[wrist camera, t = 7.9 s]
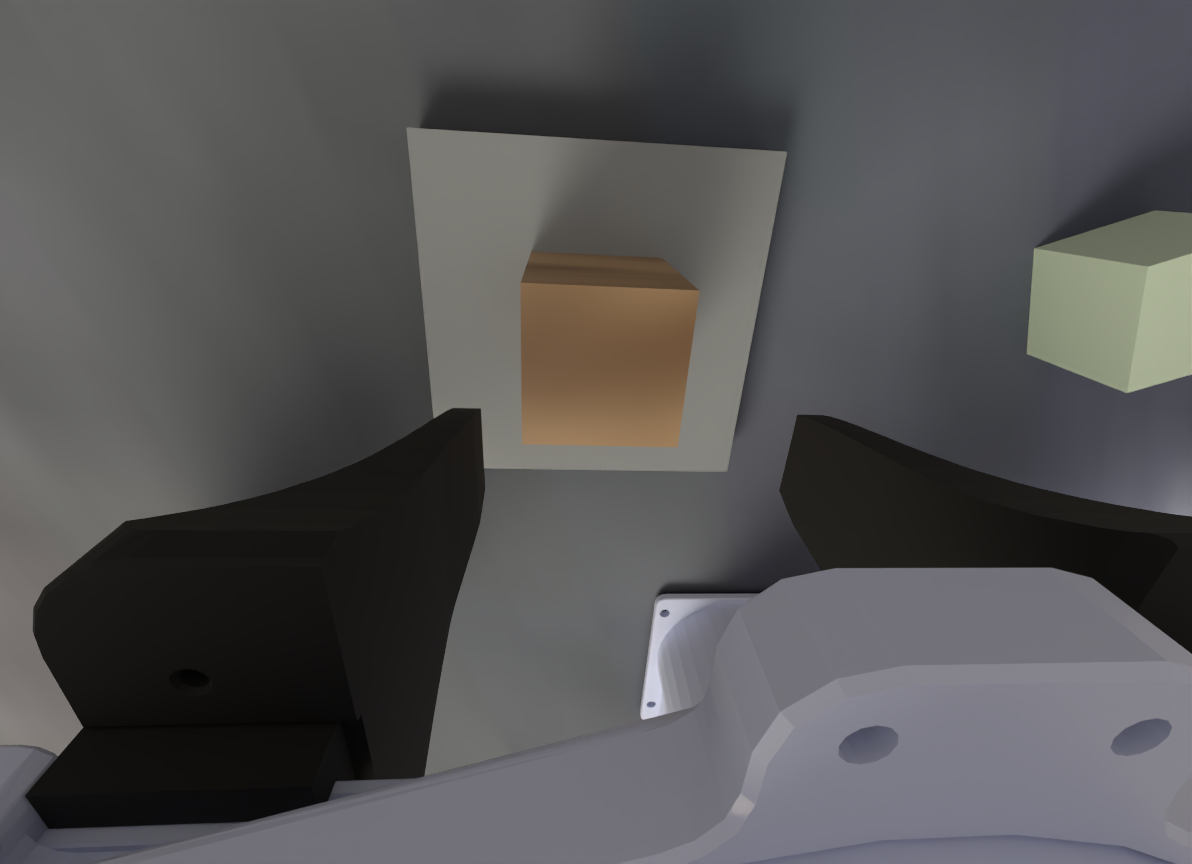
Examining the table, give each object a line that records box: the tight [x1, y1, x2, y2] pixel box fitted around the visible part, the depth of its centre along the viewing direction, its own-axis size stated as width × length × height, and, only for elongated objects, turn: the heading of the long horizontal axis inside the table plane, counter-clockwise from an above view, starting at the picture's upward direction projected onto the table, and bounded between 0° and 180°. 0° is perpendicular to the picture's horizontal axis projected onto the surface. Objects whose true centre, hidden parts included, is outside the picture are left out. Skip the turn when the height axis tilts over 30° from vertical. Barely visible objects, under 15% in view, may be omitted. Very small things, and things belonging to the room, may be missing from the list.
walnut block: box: [520, 252, 700, 447], centre depth 17 cm, size 4×4×6 cm
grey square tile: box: [407, 128, 787, 472], centre depth 20 cm, size 12×12×2 cm
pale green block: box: [1027, 211, 1192, 393], centre depth 19 cm, size 4×4×4 cm
